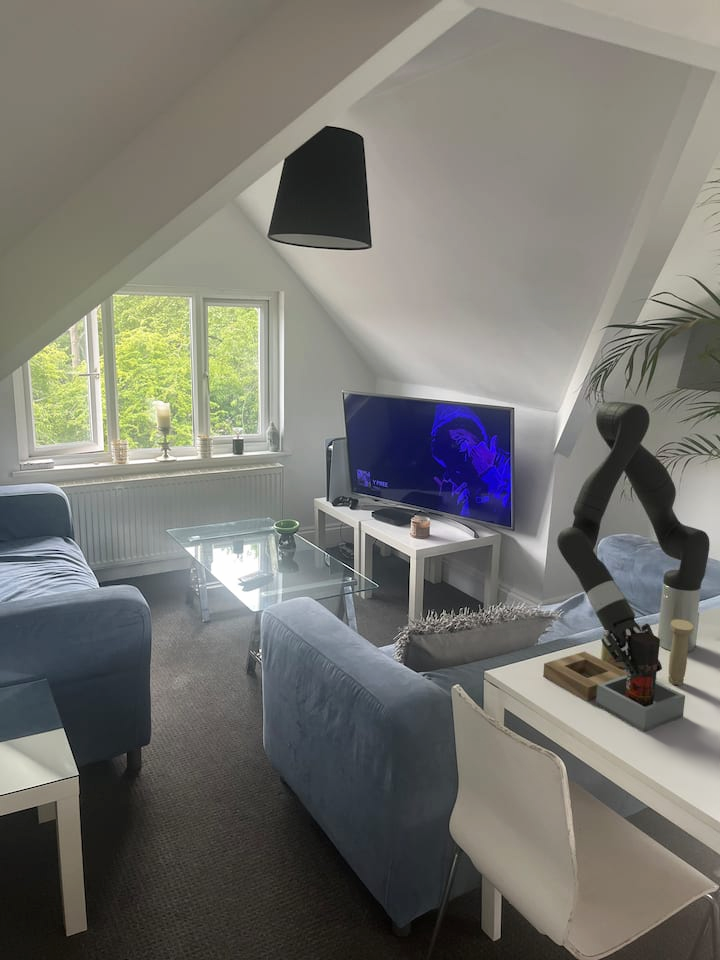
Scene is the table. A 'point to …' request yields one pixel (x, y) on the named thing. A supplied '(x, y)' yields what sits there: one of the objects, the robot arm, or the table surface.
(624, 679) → the bin
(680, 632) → the handle
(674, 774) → the table surface
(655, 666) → the deodorant
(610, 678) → the holder
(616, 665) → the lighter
